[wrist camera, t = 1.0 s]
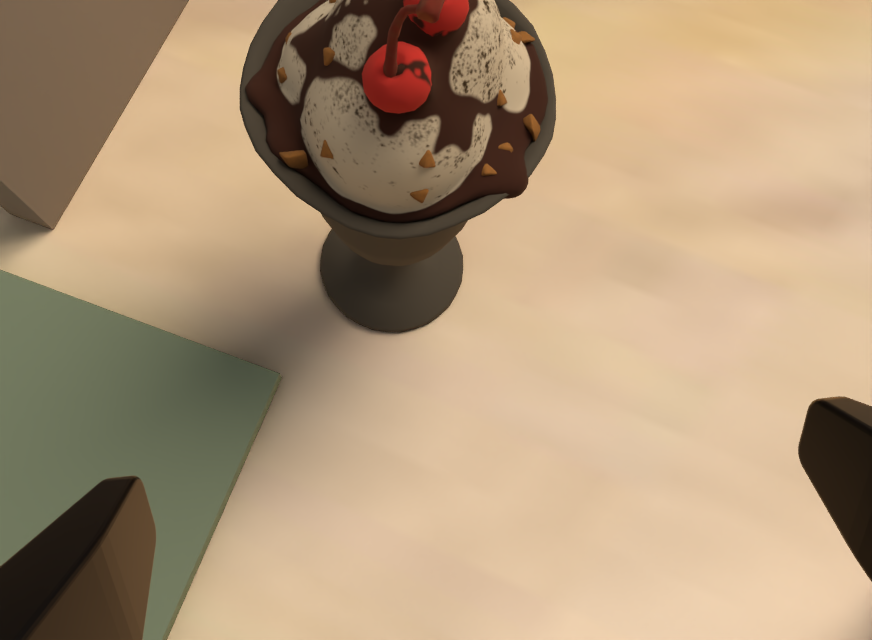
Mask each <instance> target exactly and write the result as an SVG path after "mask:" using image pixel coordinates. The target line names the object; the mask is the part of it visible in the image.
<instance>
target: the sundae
mask: <svg viewBox="0 0 872 640" xmlns="http://www.w3.org/2000/svg"><path fill="white" fill-rule="evenodd" d="M240 111H241V115H242V118H243V122H244V125H245V128H246V131H247V133H248V135H249V137H250V140H251V142H252V144H253V146H254V148H255V151H256V152H257V153H258V155H259V156H260V157H261V158H262V160H263V161H264V162H265V163H266V164H267V166H268V167H269V168H270V169H271V171H272V172H273V173H274V174H275V175H276V176H277V177H278V178H279V179H280V180H281V181H282V182H283V183H284V184H285V185H286V186H287V187H288V188H289V189H290V190H291V191H292V192H293V193H294V194H295V195H296V196H297V197H298V198H300V199H301V200H303V201H304V202H306V203H307V204H309V205H310V206H312V207H313V208H315V209H316V210H318V211H319V212H321V214H322V216H323V218H324V219H325V220H326V222H327V223H328V224H329V225H330V227H331V228H332V230H331V231H330V233H329V235H328V237H327V239H326V241H325V243H324V245H323V250H322V255H321V270H320V271H321V275H322V279H323V283H324V286H325V288H326V291H327V293H328V296H329V297H330V299H331V300H332V301H333V303H334V304H335V305H336V306H337V308H338V309H339V310H340V311H341V312H342V313H343V314H344V315H345V316H346V317H348V318H350V319H351V320H353V321H355V322H357V323H358V324H360V325H363V326H365V327H368V328H370V329H372V330H379V331H387V332H403V331H407V330H411V329H415V328H418V327H420V326H423V325H425V324H428V323H430V322H431V321H432V320H434V319H435V318H436V317H438V316H439V315H440V314H441V313H442V312H444V311H445V310H446V309H447V308H448V307H449V306H450V304H451V303H452V301H453V299H454V298H455V296H456V294H457V292H458V289H459V287H460V285H461V282H462V274H463V255H462V252H461V249H460V246H459V243H458V241H457V239H456V235H457V234H458V233H459V232H460V231H461V230H462V228H463V227H464V225H465V224H466V222H467V221H468V220H469V219H471V218H474V217H476V216H478V215H480V214H482V213H484V212H486V211H487V210H489V209H490V208H491V207H493V206H494V205H496V204H497V203H498V202H500V201H501V200H502V199H504V198H507V199H508V198H514V197H517V196H519V195H521V194H522V193H523V192H524V190H525V189H526V187H527V185H528V177H530V175H531V174H532V172H533V171H534V169H535V168H536V166H537V165H538V163H539V162H540V160H541V159H542V157H543V156H544V154H545V152H546V150H547V148H548V146H549V144H550V142H551V140H552V137H553V132H554V126H555V120H556V96H555V88H554V80H553V74H552V71H551V68H550V64H549V61H548V58H547V55H546V52H545V50H544V48H543V46H542V44H541V42H540V39H539V37H538V35H537V33H536V31H535V29H534V27H533V25H532V24H531V23H530V22H529V21H528V19H527V18H526V17H525V16H524V15H523V14H522V13H521V12H520V10H519V9H518V8H517V7H516V6H515V5H514V4H513V3H512V2H511V1H509V0H278V1H277V3H276V4H275V5H274V7H273V8H272V10H271V11H270V12H269V14H268V15H267V16H266V18H265V19H264V21H263V22H262V24H261V25H260V27H259V29H258V31H257V33H256V35H255V37H254V39H253V40H252V42H251V44H250V47H249V50H248V54H247V57H246V61H245V64H244V67H243V72H242V78H241V85H240Z"/></svg>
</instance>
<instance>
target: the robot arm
mask: <svg viewBox="0 0 872 640" xmlns="http://www.w3.org/2000/svg"><path fill="white" fill-rule="evenodd" d="M798 454H799V459H800V462H801V464H802V467H803V468H804V470H805V472H806V474H807V475H808V477H809V479H810V480H811V482H812V484H813V486H814V487H815V489H816V491H817V493H818V494H819V496H820V498H821V500H822V501H823V503H824V505H825V507H826V508H827V510H828V512H829V514H830V515H831V517H832V519H833V521H834V522H835V524H836V526H837V528H838V529H839V531H840V533H841V535H842V536H843V538H844V540H845V542H846V543H847V545H848V546H849V548H850V550H851V551H852V553H853V555H854V556H855V558H856V560H857V561H858V562H859V564H860V565H861V567H862V568H863V570H864V571H865V573H866V574H867V576H868V577H869V579H870V580H871V581H872V406H869V405H866V404H864V403H861V402H858V401H855V400H853V399H850V398H847V397H830V398H821V399H817V400H815V401H813V402H812V403H811V404H810V406H809V408H808V411H807V415H806V418H805V422H804V426H803V430H802V434H801V438H800V442H799V447H798ZM155 547H156V527H155V522H154V519H153V515H152V512H151V508H150V505H149V502H148V498H147V495H146V491H145V488H144V485H143V482H142V481H141V479H140V478H139V477H137V476H135V475H132V476H123V477H114V478H107V479H104V480H102V481H101V482H99V483H98V484H97V485H96V486H95V487H93V488H92V489H91V490H90V491H89V492H88V493H86V494H85V495H84V496H83V497H82V498H80V499H79V500H78V501H77V502H76V503H75V504H73V505H72V506H71V507H70V508H69V509H67V510H66V511H65V512H64V513H63V514H61V515H60V516H59V517H58V518H57V519H56V520H54V521H53V522H52V523H51V524H50V525H48V526H47V527H46V528H45V529H44V530H43V531H41V532H40V533H39V534H38V535H37V536H35V537H34V538H33V539H32V540H31V541H30V542H28V543H27V544H26V545H25V546H24V547H22V548H21V549H20V550H19V551H18V552H16V553H15V554H14V555H13V556H12V557H11V558H9V559H8V560H7V561H6V562H5V563H3V564H2V565H1V566H0V640H142V639H143V632H144V625H145V618H146V611H147V604H148V597H149V589H150V582H151V575H152V568H153V561H154V554H155Z"/></svg>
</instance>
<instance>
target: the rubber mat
mask: <svg viewBox="0 0 872 640" xmlns="http://www.w3.org/2000/svg"><path fill="white" fill-rule="evenodd" d="M281 378H282V377H281V375H280V373H277V372H274V371H272V370H269V369H266V368H264V367H261V366H258V365H256V364H253V363H250V362H247V361H245V360H242V359H239V358H237V357H234V356H231V355H229V354H226V353H223V352H221V351H218V350H215V349H212V348H210V347H207V346H204V345H202V344H199V343H196V342H194V341H191V340H188V339H186V338H183V337H180V336H177V335H175V334H172V333H169V332H167V331H164V330H161V329H159V328H156V327H153V326H151V325H148V324H145V323H142V322H140V321H137V320H134V319H132V318H129V317H126V316H124V315H121V314H118V313H115V312H113V311H110V310H107V309H105V308H102V307H99V306H97V305H94V304H91V303H89V302H86V301H83V300H80V299H78V298H75V297H72V296H70V295H67V294H64V293H62V292H59V291H56V290H54V289H51V288H48V287H45V286H43V285H40V284H37V283H35V282H32V281H29V280H27V279H24V278H21V277H19V276H16V275H13V274H10V273H8V272H5V271H2V270H0V566H1V565H2V564H3V563H5V562H6V561H7V560H8V559H9V558H11V557H12V556H13V555H14V554H15V553H16V552H18V551H19V550H20V549H21V548H22V547H24V546H25V545H26V544H27V543H28V542H30V541H31V540H32V539H33V538H34V537H35V536H37V535H38V534H39V533H40V532H41V531H43V530H44V529H45V528H46V527H47V526H48V525H50V524H51V523H52V522H53V521H54V520H56V519H57V518H58V517H59V516H60V515H61V514H63V513H64V512H65V511H66V510H67V509H69V508H70V507H71V506H72V505H73V504H75V503H76V502H77V501H78V500H79V499H80V498H82V497H83V496H84V495H85V494H86V493H88V492H89V491H90V490H91V489H92V488H93V487H95V486H96V485H97V484H98V483H99V482H101V481H102V480H104V479H107V478H114V477H123V476H132V475H135V476H137V477H139V478H140V479H141V481H142V482H143V485H144V488H145V491H146V495H147V498H148V502H149V505H150V508H151V512H152V515H153V519H154V522H155V527H156V547H155V554H154V561H153V568H152V575H151V582H150V589H149V597H148V604H147V611H146V618H145V625H144V632H143V639H142V640H167V638H168V635H169V633H170V631H171V628H172V626H173V624H174V622H175V619H176V617H177V615H178V613H179V610H180V608H181V606H182V603H183V601H184V599H185V597H186V594H187V592H188V590H189V588H190V585H191V583H192V581H193V578H194V576H195V574H196V572H197V569H198V567H199V565H200V563H201V560H202V558H203V556H204V553H205V551H206V549H207V547H208V544H209V542H210V540H211V538H212V535H213V533H214V531H215V528H216V526H217V524H218V522H219V519H220V517H221V515H222V513H223V510H224V508H225V506H226V503H227V501H228V499H229V497H230V494H231V492H232V490H233V488H234V485H235V483H236V481H237V478H238V476H239V474H240V472H241V469H242V467H243V465H244V463H245V460H246V458H247V456H248V453H249V451H250V449H251V447H252V444H253V442H254V440H255V438H256V435H257V433H258V431H259V428H260V426H261V424H262V422H263V419H264V417H265V415H266V413H267V410H268V408H269V406H270V403H271V401H272V399H273V397H274V394H275V392H276V390H277V388H278V385H279V383H280V381H281Z"/></svg>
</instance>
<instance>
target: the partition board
mask: <svg viewBox="0 0 872 640" xmlns="http://www.w3.org/2000/svg"><path fill="white" fill-rule="evenodd" d="M187 2H188V0H0V206H2V207H3V208H4V209H5V210H6V211H7V212H9V213H10V214H12V215H15V216H18V217H20V218H23V219H26V220H28V221H31V222H34V223H37V224H39V225H42V226H45V227H47V228H50V229H54V227H55V226H56V224H57V222H58V221H59V219H60V217H61V215H62V214H63V212H64V210H65V209H66V207H67V205H68V204H69V202H70V200H71V199H72V197H73V195H74V193H75V192H76V190H77V188H78V187H79V185H80V183H81V182H82V180H83V178H84V177H85V175H86V173H87V171H88V170H89V168H90V166H91V165H92V163H93V161H94V160H95V158H96V156H97V154H98V153H99V151H100V149H101V148H102V146H103V144H104V143H105V141H106V139H107V138H108V136H109V134H110V132H111V131H112V129H113V127H114V126H115V124H116V122H117V121H118V119H119V117H120V116H121V114H122V112H123V110H124V109H125V107H126V105H127V104H128V102H129V100H130V99H131V97H132V95H133V94H134V92H135V90H136V88H137V87H138V85H139V83H140V82H141V80H142V78H143V77H144V75H145V73H146V71H147V70H148V68H149V66H150V65H151V63H152V61H153V60H154V58H155V56H156V55H157V53H158V51H159V49H160V48H161V46H162V44H163V43H164V41H165V39H166V38H167V36H168V34H169V33H170V31H171V29H172V27H173V26H174V24H175V22H176V21H177V19H178V17H179V16H180V14H181V12H182V10H183V9H184V7H185V5H186V4H187Z"/></svg>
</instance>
